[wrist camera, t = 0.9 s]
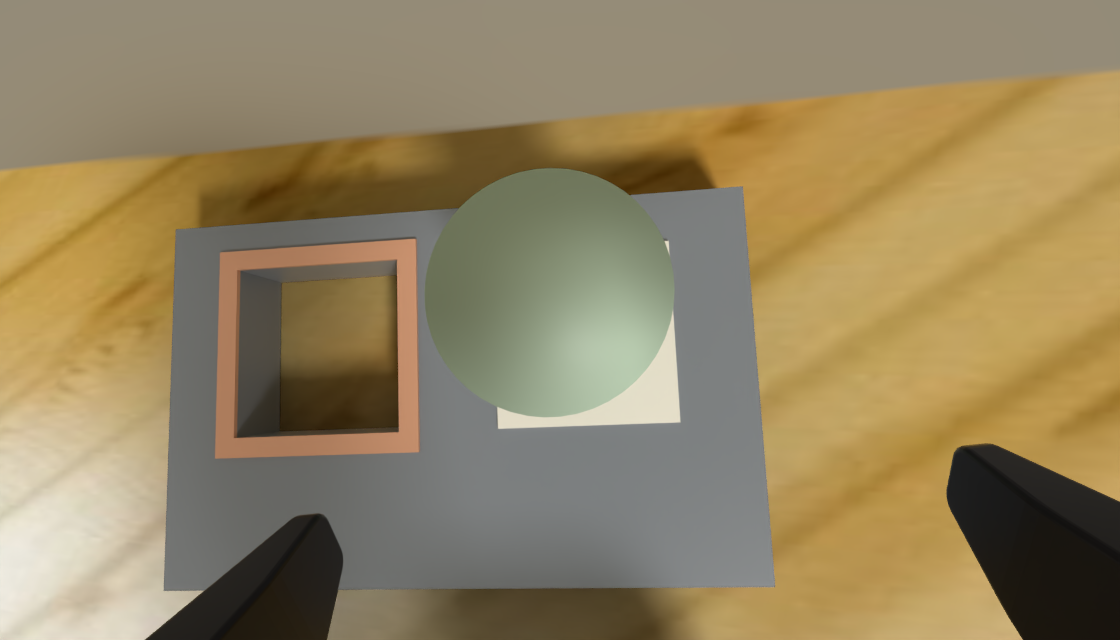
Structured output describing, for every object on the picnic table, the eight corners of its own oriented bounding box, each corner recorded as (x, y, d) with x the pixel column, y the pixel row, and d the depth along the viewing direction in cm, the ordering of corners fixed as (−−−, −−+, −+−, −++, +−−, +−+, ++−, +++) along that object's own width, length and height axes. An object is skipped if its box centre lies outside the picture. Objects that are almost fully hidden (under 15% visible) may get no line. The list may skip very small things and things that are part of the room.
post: (594, 426, 22) (566, 471, 11) (494, 345, 22) (375, 311, 12) (674, 323, 22) (727, 266, 11) (573, 246, 23) (527, 121, 12)
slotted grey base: (216, 566, 26) (160, 592, 23) (223, 246, 28) (173, 228, 25) (756, 561, 24) (776, 588, 20) (728, 209, 25) (743, 185, 22)
